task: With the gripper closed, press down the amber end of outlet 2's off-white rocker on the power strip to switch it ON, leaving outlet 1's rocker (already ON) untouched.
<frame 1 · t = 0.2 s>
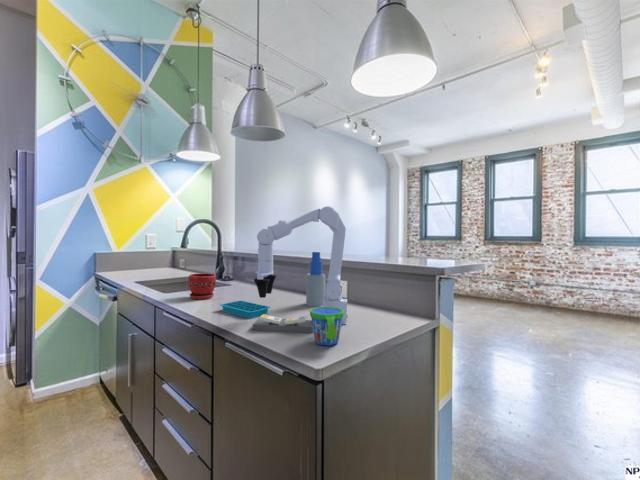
hand: (265, 295, 122), 10 cm above the worktop, fingers open, 7 cm apart
power strip: (284, 327, 113), on the worktop
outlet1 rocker: (295, 320, 110), point 4 cm above the worktop, hinge at 11.0°
spray bottle: (315, 304, 150), on the worktop
ice cube tray: (244, 313, 134), on the worktop
snack cup: (326, 342, 99), on the worktop
plant pot: (202, 298, 161), on the worktop
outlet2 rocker: (270, 318, 111), point 4 cm above the worktop, hinge at -11.0°
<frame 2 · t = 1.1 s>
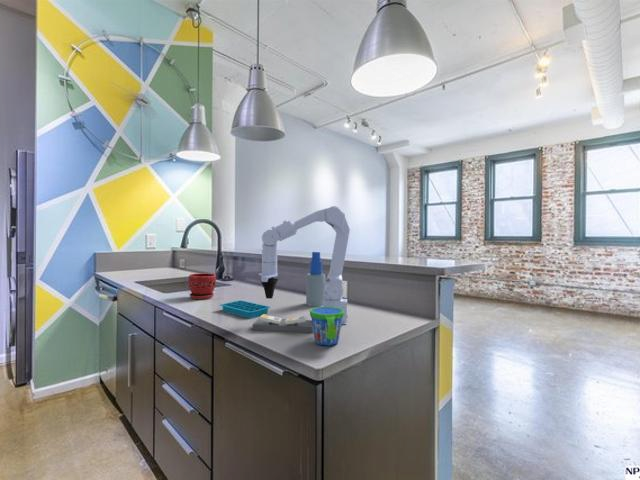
hand: (269, 298, 118), 9 cm above the worktop, fingers closed
nothing on the worktop moved.
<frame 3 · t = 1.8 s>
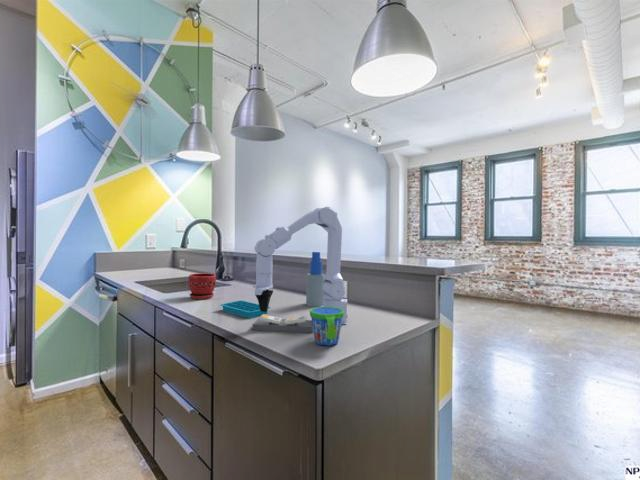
hand: (263, 311, 112), 6 cm above the worktop, fingers closed
nothing on the worktop moved.
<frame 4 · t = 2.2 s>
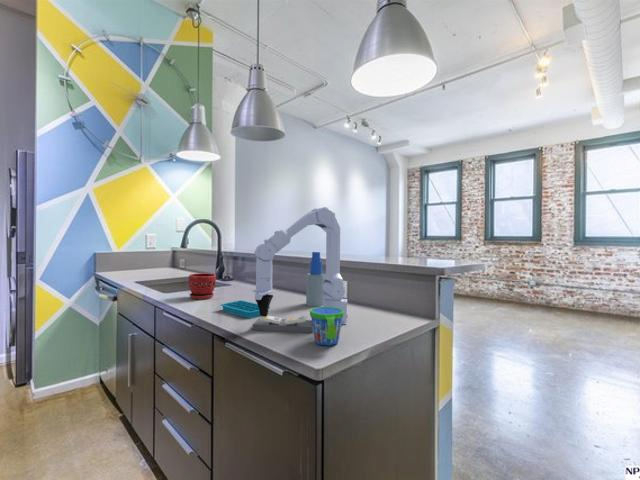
hand: (263, 315, 112), 5 cm above the worktop, fingers closed, pressing on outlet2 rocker
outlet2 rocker: (270, 318, 111), point 4 cm above the worktop, hinge at -11.0°, touching gripper
everything else where it was.
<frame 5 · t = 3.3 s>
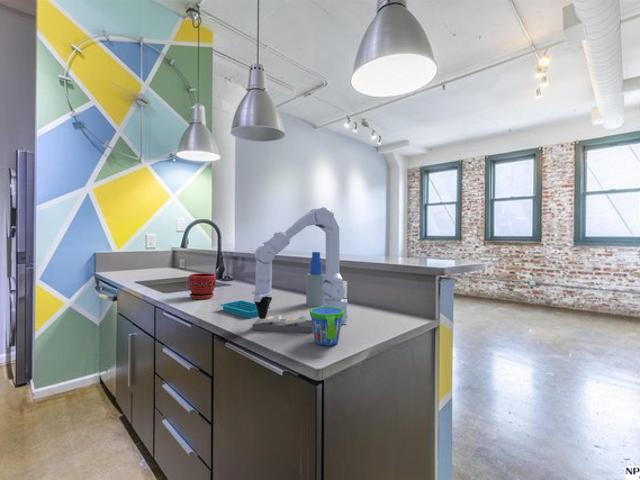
hand: (262, 317, 112), 4 cm above the worktop, fingers closed, pressing on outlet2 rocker
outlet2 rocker: (270, 318, 111), point 4 cm above the worktop, hinge at 8.2°, touching gripper
everything else where it was.
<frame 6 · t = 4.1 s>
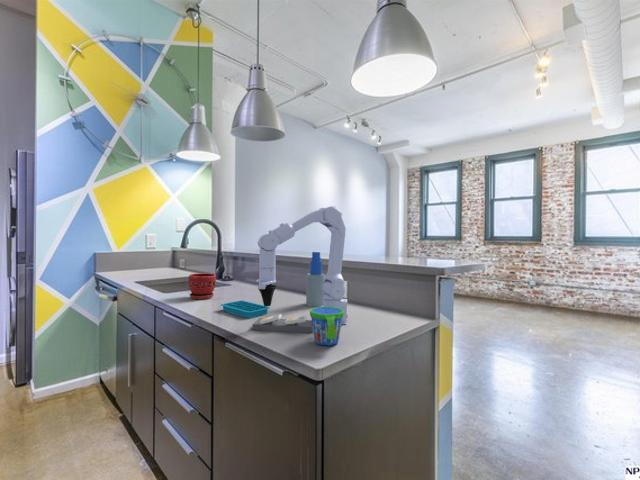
hand: (267, 305, 113), 8 cm above the worktop, fingers closed
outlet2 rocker: (270, 318, 111), point 4 cm above the worktop, hinge at 17.4°, touching power strip
everything else where it was.
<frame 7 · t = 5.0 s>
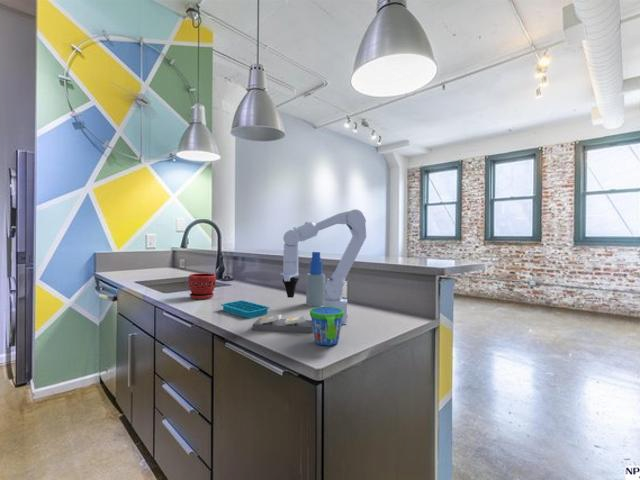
hand: (290, 297, 121), 9 cm above the worktop, fingers closed
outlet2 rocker: (270, 318, 111), point 4 cm above the worktop, hinge at 14.8°
everything else where it was.
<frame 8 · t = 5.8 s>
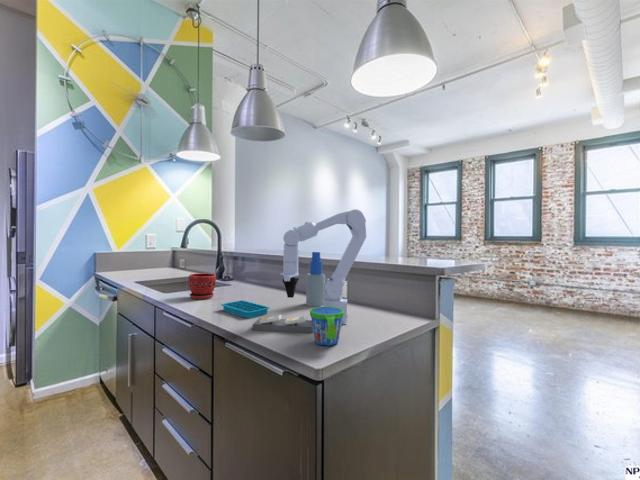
hand: (290, 297, 121), 9 cm above the worktop, fingers closed
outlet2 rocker: (270, 318, 111), point 4 cm above the worktop, hinge at 12.5°
everything else where it was.
at the end: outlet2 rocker at +12° (first picture: -11°); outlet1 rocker at +11° (first picture: +11°) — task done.
